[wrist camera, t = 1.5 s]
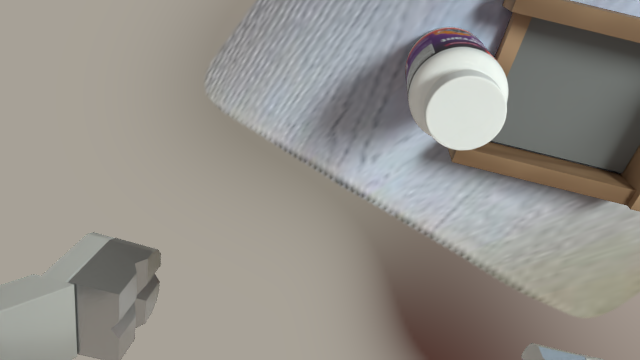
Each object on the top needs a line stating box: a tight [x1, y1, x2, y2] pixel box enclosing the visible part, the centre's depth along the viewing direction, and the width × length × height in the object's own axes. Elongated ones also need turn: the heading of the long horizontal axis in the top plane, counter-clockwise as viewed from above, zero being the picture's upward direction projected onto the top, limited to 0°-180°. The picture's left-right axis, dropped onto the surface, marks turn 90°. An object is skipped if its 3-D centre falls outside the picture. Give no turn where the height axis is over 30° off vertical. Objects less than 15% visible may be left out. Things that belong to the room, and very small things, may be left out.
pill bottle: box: [405, 27, 508, 150], centre depth 28 cm, size 5×5×10 cm
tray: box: [448, 0, 640, 211], centre depth 30 cm, size 11×14×3 cm
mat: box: [491, 17, 640, 173], centre depth 32 cm, size 9×11×1 cm
